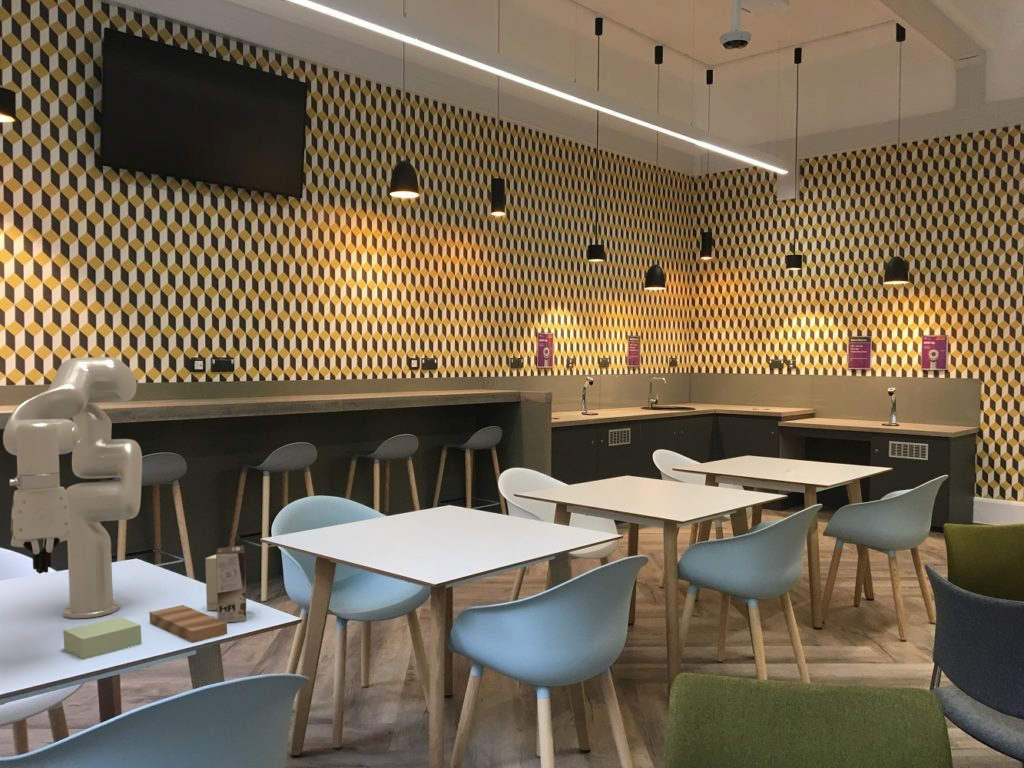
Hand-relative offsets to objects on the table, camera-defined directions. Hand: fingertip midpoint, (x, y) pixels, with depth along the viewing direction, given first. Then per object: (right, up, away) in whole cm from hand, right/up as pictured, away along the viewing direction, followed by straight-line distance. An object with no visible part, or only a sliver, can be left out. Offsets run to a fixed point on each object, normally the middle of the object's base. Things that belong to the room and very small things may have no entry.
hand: (42, 571), depth 178 cm
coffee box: (+30, -17, +27) cm, 44 cm away
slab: (+9, -18, +8) cm, 22 cm away
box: (+24, -17, +36) cm, 46 cm away
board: (+22, -18, +20) cm, 35 cm away
